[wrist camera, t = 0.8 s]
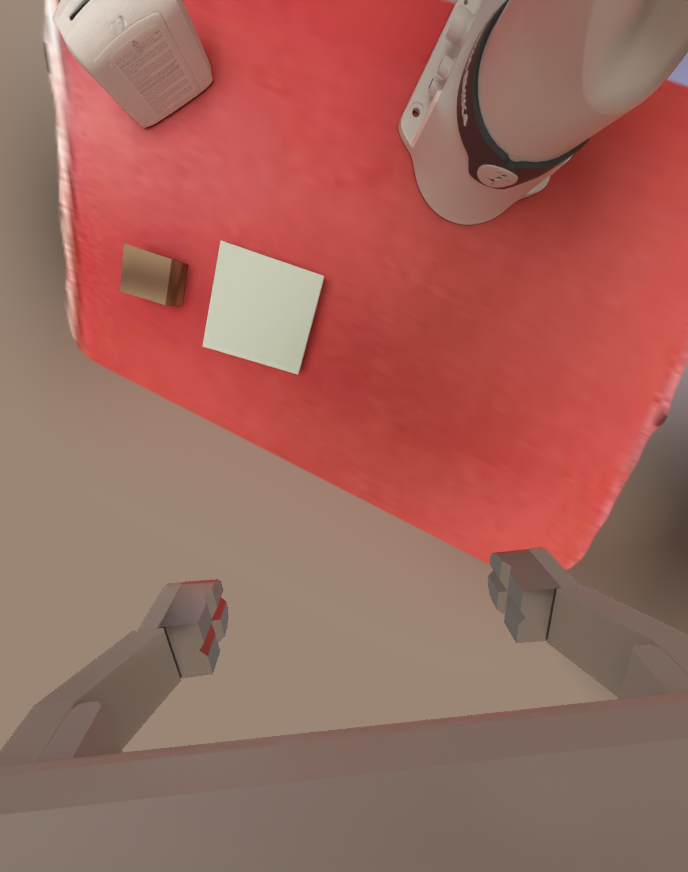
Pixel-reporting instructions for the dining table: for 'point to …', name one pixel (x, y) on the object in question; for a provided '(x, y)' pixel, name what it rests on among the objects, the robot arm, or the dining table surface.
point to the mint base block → (261, 308)
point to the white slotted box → (137, 52)
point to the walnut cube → (153, 276)
